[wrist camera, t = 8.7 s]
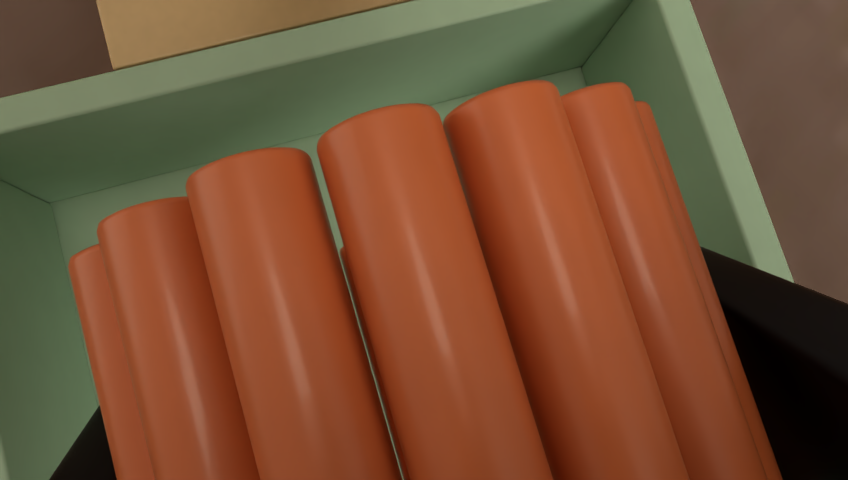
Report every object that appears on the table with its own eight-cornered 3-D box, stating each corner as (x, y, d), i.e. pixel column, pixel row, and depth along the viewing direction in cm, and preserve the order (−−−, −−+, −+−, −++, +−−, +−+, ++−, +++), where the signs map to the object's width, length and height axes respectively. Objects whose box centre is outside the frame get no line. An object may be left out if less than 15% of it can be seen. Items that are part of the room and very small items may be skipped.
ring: (643, 463, 11) (1017, 607, 5) (243, 599, 10) (53, 991, 4) (554, 193, 12) (782, 2, 5) (168, 301, 11) (-101, 227, 5)
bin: (780, 602, 15) (952, 704, 11) (172, 832, 14) (80, 1063, 9) (588, 47, 17) (668, -62, 12) (28, 189, 15) (-110, 122, 11)
